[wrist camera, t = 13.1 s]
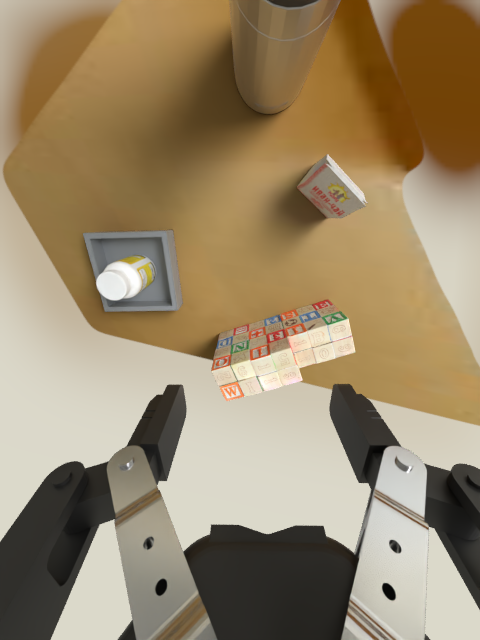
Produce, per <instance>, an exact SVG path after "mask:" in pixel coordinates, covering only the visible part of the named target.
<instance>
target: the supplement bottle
mask: <svg viewBox="0 0 480 640" xmlns="http://www.w3.org/2000/svg"><path fill="white" fill-rule="evenodd" d="M155 278H156V268H155V265H154V264H153V262H152V261H151V260H150V259H149V258H147V257H146V256H143V255H132V256H129V257H127V258H124V259H121V260H118V261H116V262H113V263H111V264H109V265H108V266H107V267H106V268H105V270H104V272H103V273H101V274H100V275H99V276H98V278H97V281H96V285H97V288H98V290H99V292H100V293H101V294H102V295H103V296H104V297H105V298H107V299H109V300H120V299H122V298H131V297H133V296H135V295H137V294H138V293H139V292H141V291H142V290H143V289H145V288H146V287H147V286H149V285H150V284H151V283H152V282H153V281H154V280H155Z"/></svg>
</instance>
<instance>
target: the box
mask: <svg viewBox="0 0 480 640" xmlns="http://www.w3.org/2000/svg"><path fill="white" fill-rule="evenodd" d="M83 236H84V239H85V243H86V246H87V250H88V254H89V257H90V261H91V264H92V268H93V271H94V275H95V278H96V281H97V278H98V276H99V275H100V274H101V273H103V272H104V270H105V268H106V267H107V266H108V265H109V264H111V263H113V262H116V261H118V260H121V259H124V258H127V257H129V256H132V255H143V256H146V257H147V258H149V259H150V260H151V261H152V262H153V264H154V265H155V268H156V278H155V280H154V281H153V282H152V283H151V284H150V285H149V286H147V287H146V288H145V289H143V290H142V291H141V292H139V293H138V294H137V295H135V296H133V297H131V298H122V299H120V300H109V299H107V298H105V297H104V296H103V295H102V294H101V293H100V296H101V299H102V303H103V306H104V310H105V312H108V311H169V310H178V309H179V308H180V307H181V305H182V304H183V301H182V294H181V286H180V279H179V271H178V264H177V256H176V249H175V241H174V234H173V230H150V231H113V232H91V233H83Z"/></svg>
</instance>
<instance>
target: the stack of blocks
mask: <svg viewBox="0 0 480 640" xmlns="http://www.w3.org/2000/svg"><path fill="white" fill-rule="evenodd" d="M354 352H355V348H354V343H353V338H352V335H351V329H350V324H349V320H348V318H347V317H346V316H345V315H344V314H343V313H342V312H341V311H339V310H338V308H337V307H336V306H335V305H333V304H332V303H331V302H330V301H329V300H325V301H322V302H319V303H316V304H313V305H308V306H305V307H302V308H299V309H296V310H292V311H289V312H286V313H283V314H280V315H277V316H274V317H271V318H268V319H265V320H262V321H259V322H256V323H252V324H248V325H245V326H242V327H239V328H235V329H232V330H229V331H225V332H222V333H220V334H219V339H218V343H217V347H216V350H215V354H214V358H213V360H214V361H213V366H212V370H211V371H212V374H213V376H214V378H215V380H216V382H217V384H218V386H219V387H220V390H221V392H222V394H223V396H224V397H225V399H226V401H229V400H233V399H237V398H240V397H244V396H245V397H247V396H251V395H254V394H258V393H261V392H263V391H269V390H272V389H275V388H278V387H282V386H285V385H288V384H292V383H295V382H299V381H302V377H301V374H300V370H299V368H301V367H305V366H308V365H312V364H315V363H321V362H324V361H328V360H331V359H335V358H336V357H340V356H344V355H348V354H351V353H354Z"/></svg>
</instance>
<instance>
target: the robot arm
mask: <svg viewBox="0 0 480 640" xmlns="http://www.w3.org/2000/svg"><path fill="white" fill-rule="evenodd" d="M340 1H341V0H229V5H230V19H231V32H232V46H233V61H234V74H235V80H236V85H237V87H238V90H239V93H240V95H241V96H242V98H243V100H244V101H245V102H246V103H247V105H248V106H249V107H251V108H252V109H253V110H255V111H257V112H260V113H262V114H274V113H278V112H280V111H282V110H284V109H286V108H287V107H288V106H290V105H291V104H292V103H293V101H294V100H295V99H296V98H297V96H298V94H299V93H300V91H301V89H302V87H303V85H304V82H305V80H306V78H307V75H308V73H309V71H310V69H311V67H312V64H313V62H314V60H315V58H316V55H317V53H318V51H319V48H320V46H321V44H322V42H323V39H324V37H325V35H326V33H327V30H328V28H329V26H330V23H331V21H332V19H333V17H334V14H335V12H336V10H337V7H338V5H339V3H340ZM330 416H331V419H332V421H333V424H334V426H335V428H336V431H337V433H338V435H339V438H340V440H341V442H342V445H343V447H344V449H345V452H346V454H347V456H348V459H349V461H350V463H351V466H352V468H353V470H354V473H355V475H356V478H357V480H358V482H359V483H369V486H370V488H371V493H370V496H369V500H368V504H367V508H366V511H365V515H364V520H363V523H362V527H361V531H360V535H359V538H358V542H357V545H356V549H355V552H354V553H353V552H352V551H351V550H349V549H348V548H347V547H345V546H344V545H342V544H341V543H339V542H338V541H336V540H333V539H331V538H329V537H326V534H325V530H324V527H323V526H293V527H290V528H287V529H284V530H281V531H278V532H275V533H272V534H264V533H261V532H258V531H255V530H252V529H249V528H246V527H243V526H240V525H211V532H210V535H207V536H205V537H203V538H201V539H199V540H197V541H196V542H194V543H193V544H191V545H190V546H189V547H188V548H187V549H186V550H185V551H184V552H183V550H182V548H181V545H180V543H179V540H178V537H177V535H176V532H175V529H174V527H173V524H172V521H171V519H170V516H169V514H168V511H167V508H166V506H165V503H164V500H163V498H162V495H161V493H160V491H159V490H158V488H157V485H158V482H159V481H167V478H168V475H169V471H170V468H171V465H172V461H173V458H174V455H175V451H176V448H177V445H178V441H179V438H180V435H181V431H182V428H183V425H184V421H185V418H186V401H185V395H184V389H183V385H167V387H166V389H165V391H164V393H163V395H156V396H155V397H154V398H153V399H152V400H151V401H150V402H149V404H148V406H147V408H146V410H145V412H144V414H143V416H142V419H141V420H140V421H139V423H138V425H137V427H136V429H135V431H134V433H133V435H132V437H131V439H130V441H129V443H128V445H127V446H126V447H125V448H122V449H121V450H119V451H118V452H116V453H115V454H114V455H113V456H112V458H111V459H110V460H109V461H108V462H106V463H103V464H99V465H96V466H92V467H89V468H84V466H83V464H82V463H80V462H77V461H74V462H69V463H66V464H63V465H61V466H60V467H58V468H56V469H55V470H54V471H52V472H51V473H50V474H49V475H48V476H47V477H46V478H45V480H44V481H43V482H42V484H41V485H40V487H39V488H38V489H37V491H36V492H35V494H34V495H33V497H32V498H31V499H30V501H29V502H28V504H27V505H26V506H25V508H24V509H23V511H22V512H21V513H20V515H19V517H18V518H17V519H16V521H15V522H14V524H13V525H12V526H11V528H10V529H9V530H8V532H7V533H6V535H5V536H4V538H3V539H2V540H1V542H0V640H50V639H51V637H52V634H53V632H54V630H55V628H56V625H57V623H58V621H59V618H60V616H61V614H62V611H63V609H64V606H65V604H66V602H67V599H68V597H69V595H70V592H71V590H72V588H73V585H74V583H75V580H76V578H77V576H78V573H79V571H80V569H81V567H82V564H83V562H84V560H85V557H86V555H87V553H88V550H89V548H90V545H91V543H92V541H93V538H94V536H95V534H96V531H97V529H98V527H99V524H102V523H105V522H108V521H110V520H113V519H115V529H116V534H117V539H118V544H119V550H120V555H121V560H122V566H123V571H124V576H125V581H126V587H127V592H128V598H129V603H130V608H131V614H132V619H133V620H132V621H131V622H130V624H129V625H128V626H127V628H126V629H125V631H124V632H123V633H122V635H121V636H120V637H119V639H118V640H430V639H429V638H428V636H426V634H425V613H426V590H427V587H426V586H427V566H428V564H427V563H428V541H429V527H432V528H435V530H436V532H437V534H438V536H439V538H440V539H441V541H442V543H443V545H444V547H445V548H446V550H447V552H448V554H449V556H450V557H451V559H452V561H453V563H454V564H455V566H456V568H457V570H458V571H459V573H460V575H461V577H462V579H463V580H464V582H465V584H466V586H467V588H468V590H469V591H470V593H471V595H472V596H473V599H474V600H475V602H476V604H477V606H478V608H479V609H480V469H478V468H476V467H473V466H471V465H467V464H456V465H454V466H453V467H452V469H451V471H448V470H444V469H441V468H437V467H434V466H430V465H427V464H424V463H423V462H422V461H421V459H420V458H419V457H418V456H417V455H415V454H414V453H413V452H411V451H410V450H407V449H405V448H403V447H401V445H400V444H399V442H398V441H397V439H396V438H395V436H394V435H393V434H392V432H391V431H390V429H389V428H388V426H387V425H386V423H385V422H384V420H383V419H381V416H380V415H379V413H378V412H377V411H376V409H375V407H374V406H373V404H372V403H371V402H370V401H369V400H368V399H367V398H366V397H364V396H363V395H362V394H356V392H355V391H354V389H353V388H352V386H351V385H350V384H334V385H333V390H332V396H331V402H330Z"/></svg>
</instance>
